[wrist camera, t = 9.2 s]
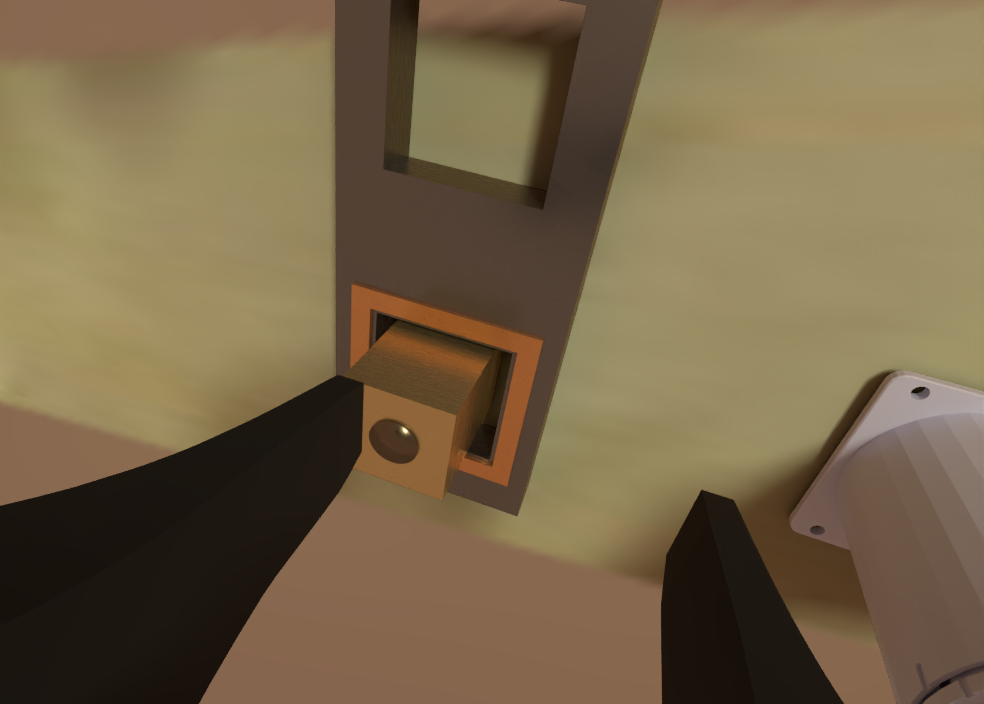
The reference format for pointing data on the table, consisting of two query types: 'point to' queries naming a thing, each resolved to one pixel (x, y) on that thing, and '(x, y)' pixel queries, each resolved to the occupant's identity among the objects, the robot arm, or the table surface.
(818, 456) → the table surface
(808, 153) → the table surface
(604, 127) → the grey slotted board
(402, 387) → the tan square knob peg
